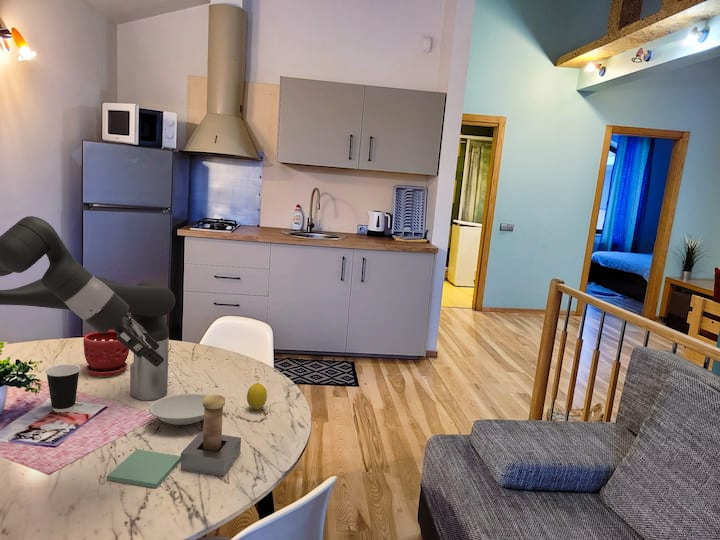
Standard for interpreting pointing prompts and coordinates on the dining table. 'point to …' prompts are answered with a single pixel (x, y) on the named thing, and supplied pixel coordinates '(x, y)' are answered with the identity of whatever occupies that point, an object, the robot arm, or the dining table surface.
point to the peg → (213, 422)
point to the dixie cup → (63, 386)
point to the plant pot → (105, 354)
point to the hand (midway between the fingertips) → (158, 355)
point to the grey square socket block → (210, 456)
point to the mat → (144, 468)
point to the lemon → (256, 396)
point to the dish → (179, 408)
